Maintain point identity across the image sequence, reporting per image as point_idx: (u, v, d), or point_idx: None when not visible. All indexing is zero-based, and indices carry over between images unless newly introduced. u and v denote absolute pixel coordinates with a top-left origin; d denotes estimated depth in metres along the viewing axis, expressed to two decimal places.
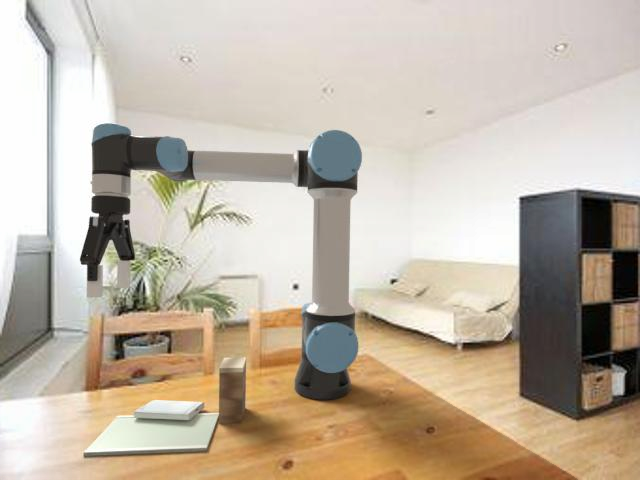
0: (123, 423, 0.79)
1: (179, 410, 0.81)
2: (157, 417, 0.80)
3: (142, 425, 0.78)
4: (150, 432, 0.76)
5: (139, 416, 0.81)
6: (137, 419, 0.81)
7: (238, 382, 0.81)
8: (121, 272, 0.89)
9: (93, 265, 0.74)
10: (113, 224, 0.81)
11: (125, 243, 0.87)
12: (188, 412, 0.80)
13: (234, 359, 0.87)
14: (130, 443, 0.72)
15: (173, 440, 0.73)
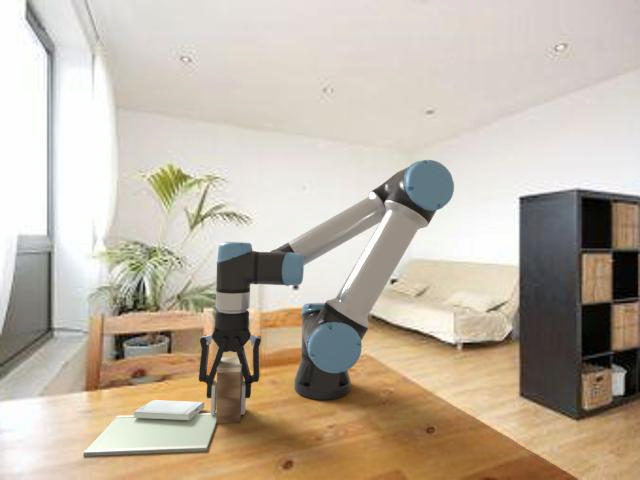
0: (123, 423, 0.79)
1: (179, 410, 0.81)
2: (157, 417, 0.80)
3: (142, 425, 0.78)
4: (150, 432, 0.76)
5: (139, 416, 0.81)
6: (137, 419, 0.81)
7: (236, 382, 0.81)
8: None
9: None
10: (221, 340, 0.83)
11: (242, 362, 0.84)
12: (188, 412, 0.80)
13: (232, 359, 0.87)
14: (130, 443, 0.72)
15: (173, 440, 0.73)
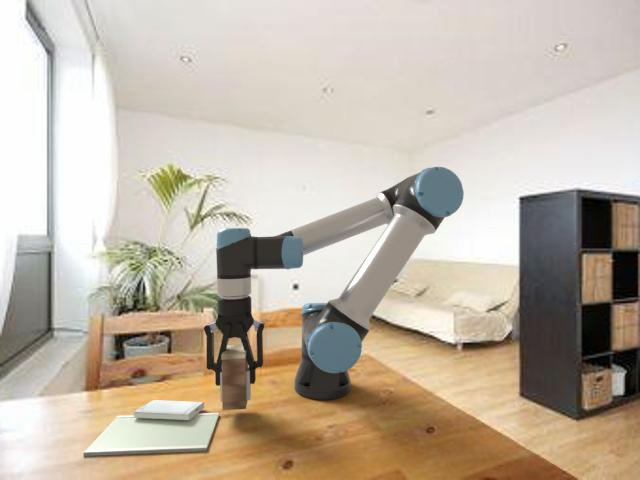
0: (123, 423, 0.79)
1: (179, 410, 0.81)
2: (157, 417, 0.80)
3: (142, 425, 0.78)
4: (150, 432, 0.76)
5: (139, 416, 0.81)
6: (137, 419, 0.81)
7: (241, 368, 0.81)
8: None
9: None
10: (225, 327, 0.83)
11: (245, 348, 0.84)
12: (188, 412, 0.80)
13: (236, 346, 0.87)
14: (130, 443, 0.72)
15: (173, 440, 0.73)
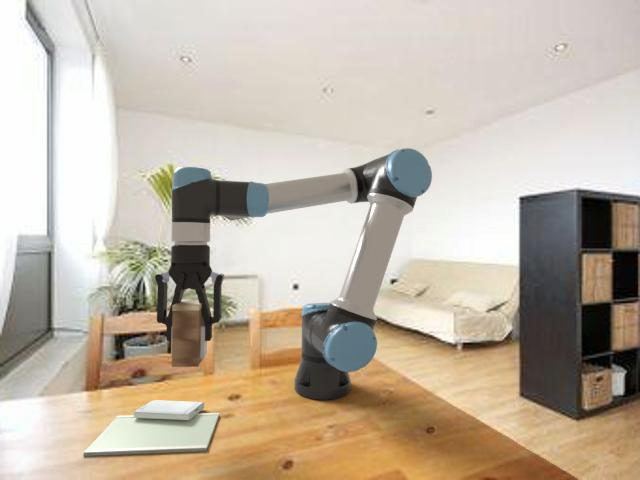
0: (123, 423, 0.79)
1: (179, 410, 0.81)
2: (157, 417, 0.80)
3: (142, 425, 0.78)
4: (150, 432, 0.76)
5: (139, 416, 0.81)
6: (137, 419, 0.81)
7: (193, 321, 0.74)
8: None
9: None
10: None
11: (201, 301, 0.76)
12: (188, 412, 0.80)
13: (192, 300, 0.79)
14: (130, 443, 0.72)
15: (173, 440, 0.73)
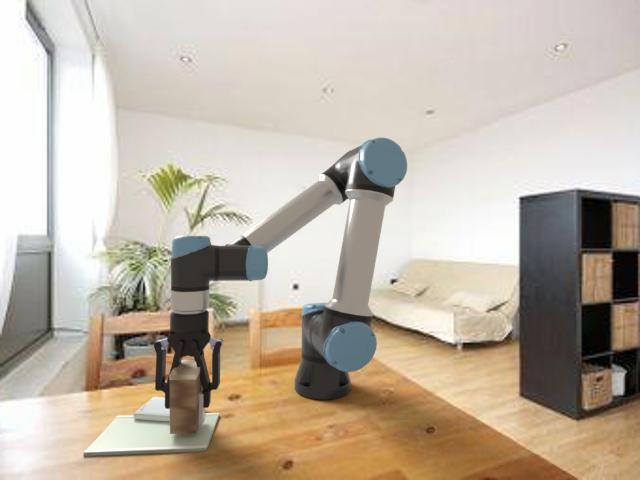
0: (123, 423, 0.79)
1: None
2: (157, 419, 0.80)
3: (142, 425, 0.78)
4: (150, 432, 0.76)
5: (139, 418, 0.81)
6: (137, 419, 0.81)
7: (191, 390, 0.73)
8: None
9: None
10: None
11: (200, 368, 0.76)
12: None
13: (190, 362, 0.78)
14: (130, 443, 0.72)
15: (173, 440, 0.73)
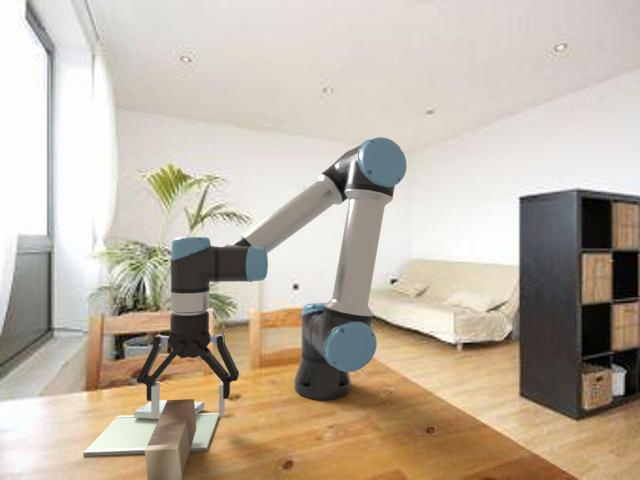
0: (123, 423, 0.79)
1: None
2: (157, 417, 0.80)
3: (142, 425, 0.78)
4: (150, 432, 0.76)
5: (139, 416, 0.81)
6: (137, 419, 0.81)
7: None
8: None
9: None
10: (177, 344, 0.75)
11: (210, 364, 0.76)
12: None
13: (161, 457, 0.60)
14: (130, 443, 0.72)
15: None
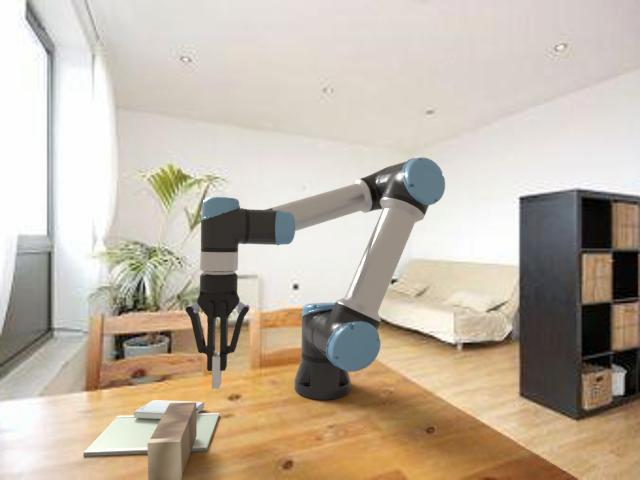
0: (123, 423, 0.79)
1: None
2: (157, 417, 0.80)
3: (142, 425, 0.78)
4: (150, 432, 0.76)
5: (139, 416, 0.81)
6: (137, 419, 0.81)
7: None
8: None
9: None
10: None
11: (222, 330, 0.76)
12: None
13: (163, 450, 0.61)
14: (130, 443, 0.72)
15: None
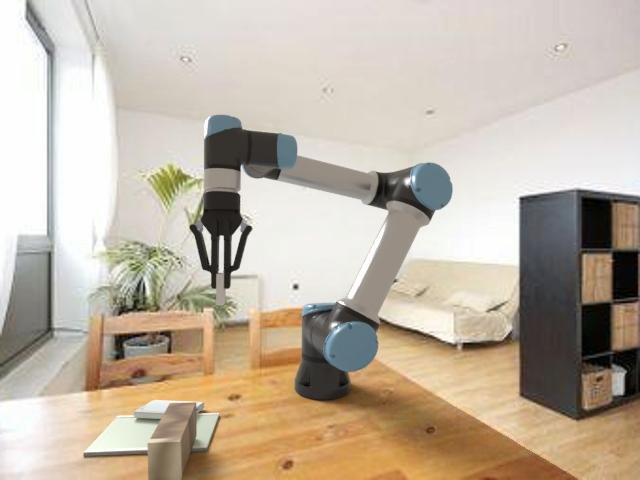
0: (123, 423, 0.79)
1: None
2: (157, 417, 0.80)
3: (142, 425, 0.78)
4: (150, 432, 0.76)
5: (139, 416, 0.81)
6: (137, 419, 0.81)
7: None
8: None
9: (211, 273, 0.78)
10: (211, 224, 0.77)
11: (226, 248, 0.77)
12: None
13: (163, 450, 0.61)
14: (130, 443, 0.72)
15: None
